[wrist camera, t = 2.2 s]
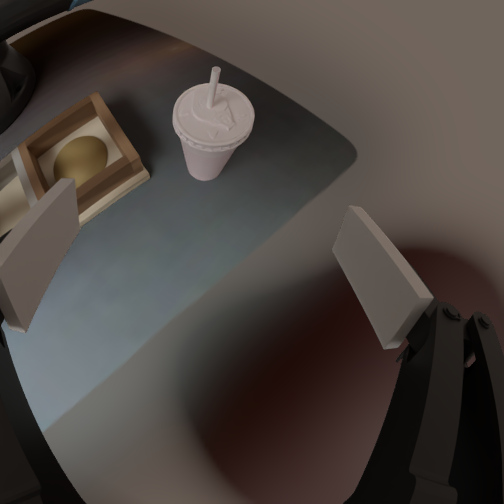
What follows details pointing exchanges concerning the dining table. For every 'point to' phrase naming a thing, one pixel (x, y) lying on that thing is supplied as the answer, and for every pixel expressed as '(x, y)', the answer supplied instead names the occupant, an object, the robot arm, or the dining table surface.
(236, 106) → the smoothie
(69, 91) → the dining table surface
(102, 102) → the board
